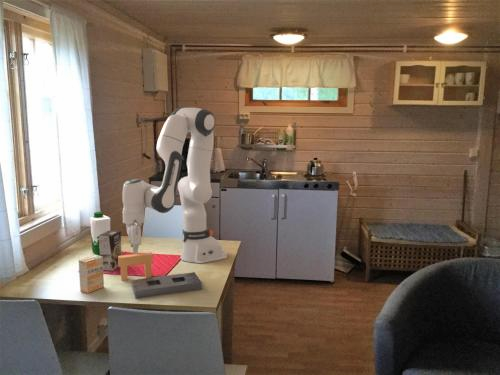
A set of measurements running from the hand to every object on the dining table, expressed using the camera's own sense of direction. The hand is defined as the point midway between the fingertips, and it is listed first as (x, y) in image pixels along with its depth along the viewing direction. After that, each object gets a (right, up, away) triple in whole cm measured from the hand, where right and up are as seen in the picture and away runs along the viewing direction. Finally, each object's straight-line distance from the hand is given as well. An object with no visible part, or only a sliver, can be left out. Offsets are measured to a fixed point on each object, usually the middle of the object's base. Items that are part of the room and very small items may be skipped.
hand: (134, 249), depth 194 cm
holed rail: (+15, -14, -9) cm, 23 cm away
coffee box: (-14, -10, +15) cm, 23 cm away
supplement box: (-14, -15, -10) cm, 23 cm away
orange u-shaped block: (0, -12, +3) cm, 12 cm away
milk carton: (-25, -6, +35) cm, 44 cm away
